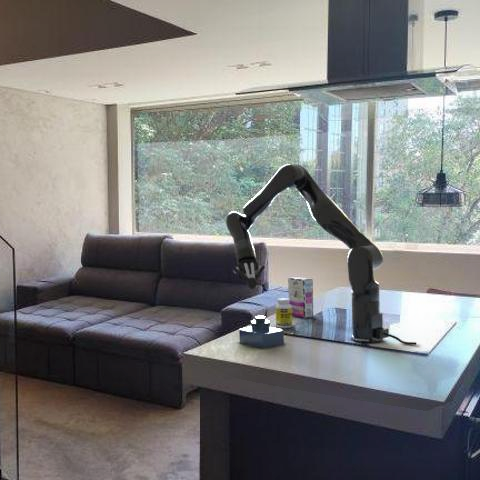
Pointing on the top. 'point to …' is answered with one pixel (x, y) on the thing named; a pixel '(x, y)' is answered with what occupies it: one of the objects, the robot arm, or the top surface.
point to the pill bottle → (283, 313)
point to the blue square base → (261, 335)
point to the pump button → (260, 319)
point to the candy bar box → (301, 296)
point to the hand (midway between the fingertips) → (252, 287)
